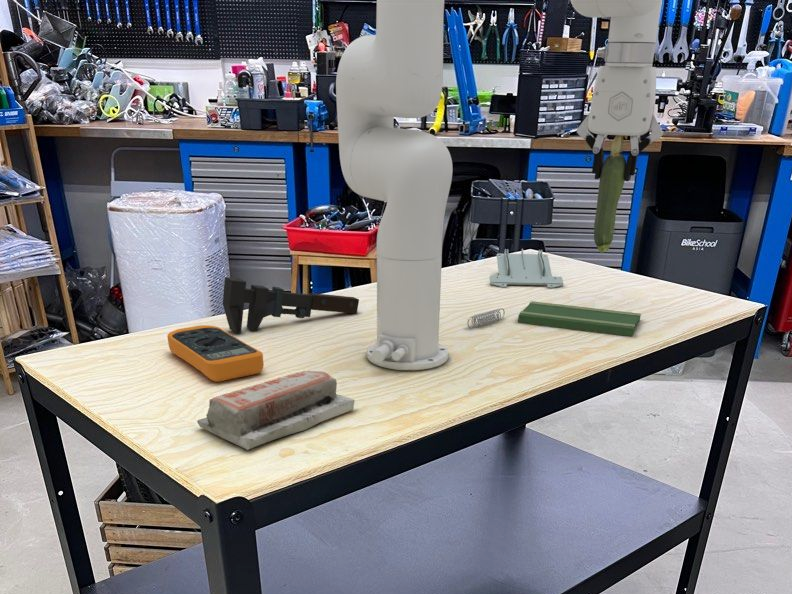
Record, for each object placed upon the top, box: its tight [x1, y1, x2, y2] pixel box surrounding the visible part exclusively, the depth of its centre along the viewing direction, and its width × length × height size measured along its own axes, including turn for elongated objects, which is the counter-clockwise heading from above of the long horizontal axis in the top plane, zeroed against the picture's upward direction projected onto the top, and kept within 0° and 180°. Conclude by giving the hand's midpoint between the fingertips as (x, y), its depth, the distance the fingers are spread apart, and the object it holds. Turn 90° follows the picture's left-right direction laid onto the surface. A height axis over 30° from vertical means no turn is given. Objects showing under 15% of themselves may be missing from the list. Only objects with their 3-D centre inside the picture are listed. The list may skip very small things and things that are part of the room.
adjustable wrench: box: [222, 276, 360, 334], centre depth 138 cm, size 8×3×25 cm
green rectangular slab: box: [517, 300, 642, 337], centre depth 142 cm, size 10×20×2 cm, turn 69°
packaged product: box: [197, 370, 356, 451], centre depth 101 cm, size 18×5×10 cm
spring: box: [466, 307, 506, 329], centre depth 140 cm, size 10×2×2 cm, turn 134°
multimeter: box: [167, 324, 264, 383], centre depth 119 cm, size 9×18×3 cm, turn 36°
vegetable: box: [593, 135, 628, 254], centre depth 139 cm, size 4×4×20 cm
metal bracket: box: [489, 248, 564, 289], centre depth 168 cm, size 14×6×15 cm
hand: (612, 178), depth 138 cm, fingers closed on vegetable, 4 cm apart
